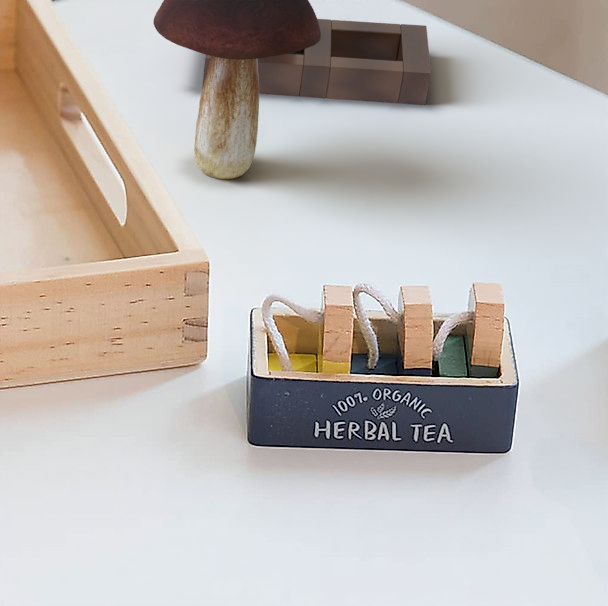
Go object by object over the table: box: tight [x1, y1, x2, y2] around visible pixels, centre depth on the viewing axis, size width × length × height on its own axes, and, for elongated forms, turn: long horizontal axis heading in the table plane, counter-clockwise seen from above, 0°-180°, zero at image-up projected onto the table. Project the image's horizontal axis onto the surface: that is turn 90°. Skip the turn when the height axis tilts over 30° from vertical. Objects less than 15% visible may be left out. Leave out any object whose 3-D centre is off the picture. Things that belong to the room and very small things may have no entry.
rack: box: [201, 18, 432, 106], centre depth 119 cm, size 17×9×3 cm, turn 80°
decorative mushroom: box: [153, 0, 321, 180], centre depth 102 cm, size 11×11×15 cm
